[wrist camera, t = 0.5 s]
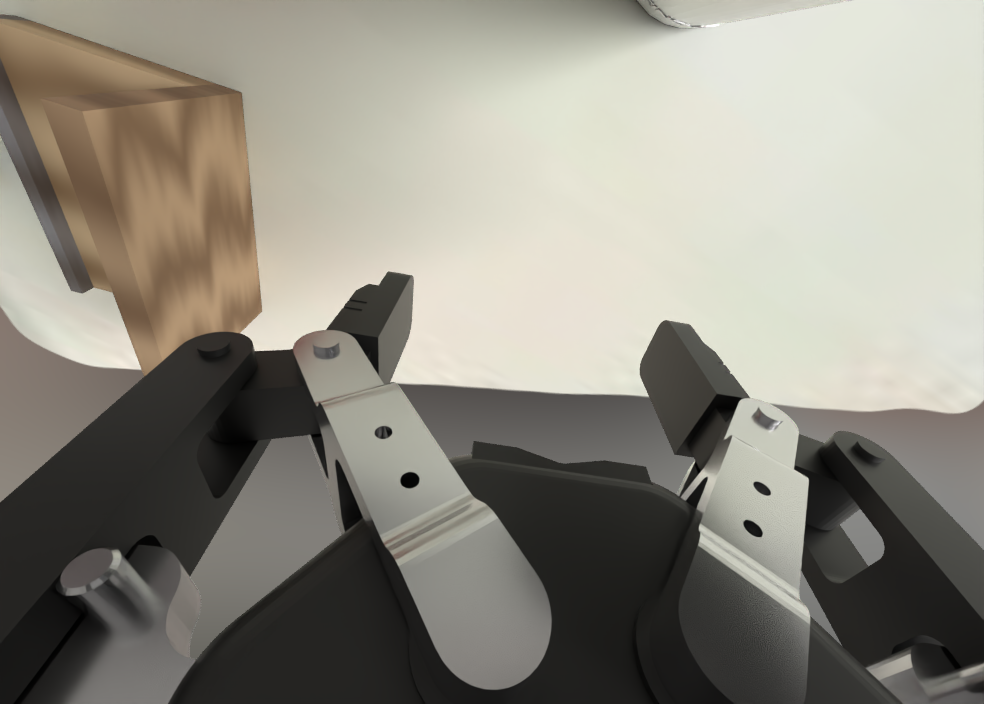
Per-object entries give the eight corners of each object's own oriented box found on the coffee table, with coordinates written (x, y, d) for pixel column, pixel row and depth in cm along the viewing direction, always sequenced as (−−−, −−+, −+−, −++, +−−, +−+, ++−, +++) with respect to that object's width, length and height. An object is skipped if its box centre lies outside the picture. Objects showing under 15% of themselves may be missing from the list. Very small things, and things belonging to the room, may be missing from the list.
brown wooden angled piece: (16, 15, 22) (-313, -14, 13) (241, 92, 24) (82, 111, 15) (109, 270, 32) (-42, 348, 23) (262, 311, 34) (174, 397, 25)
